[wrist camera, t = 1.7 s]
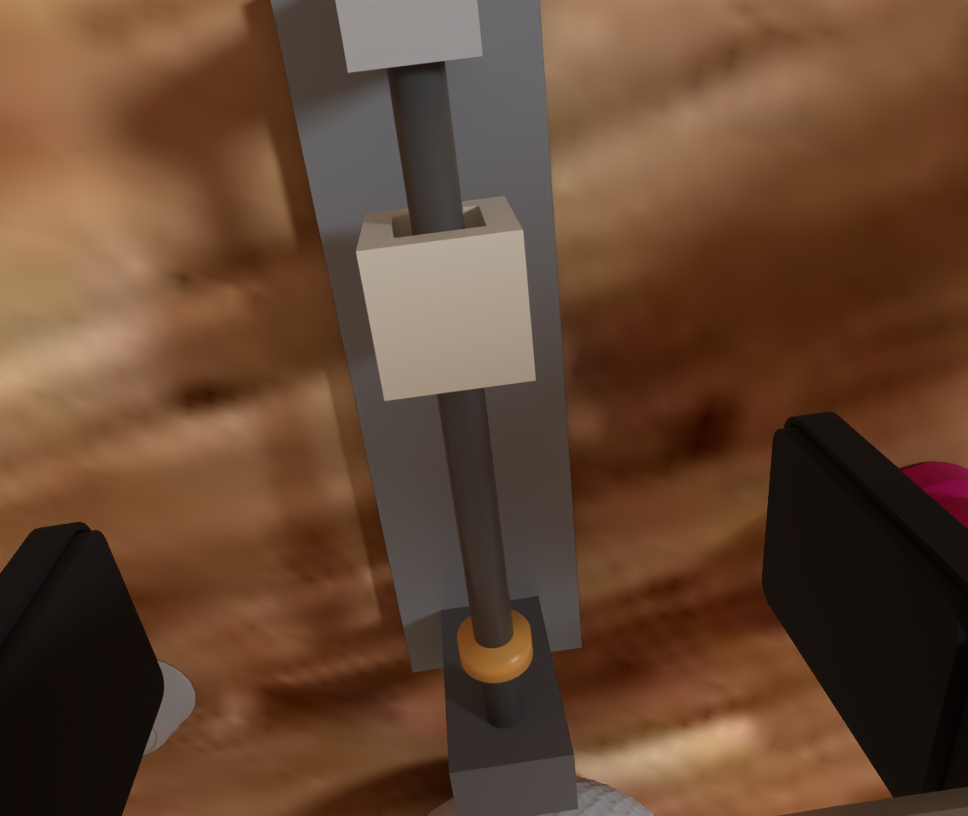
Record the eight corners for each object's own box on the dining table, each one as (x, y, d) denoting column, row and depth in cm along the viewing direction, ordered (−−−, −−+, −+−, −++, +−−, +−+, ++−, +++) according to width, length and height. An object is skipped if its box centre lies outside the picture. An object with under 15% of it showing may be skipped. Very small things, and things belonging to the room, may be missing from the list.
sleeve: (504, 195, 21) (523, 229, 18) (516, 326, 23) (535, 380, 20) (365, 214, 21) (355, 251, 18) (388, 343, 23) (384, 401, 20)
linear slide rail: (531, -50, 23) (597, -91, 15) (577, 632, 36) (626, 810, 28) (271, -19, 23) (193, -43, 15) (412, 656, 36) (412, 842, 28)
